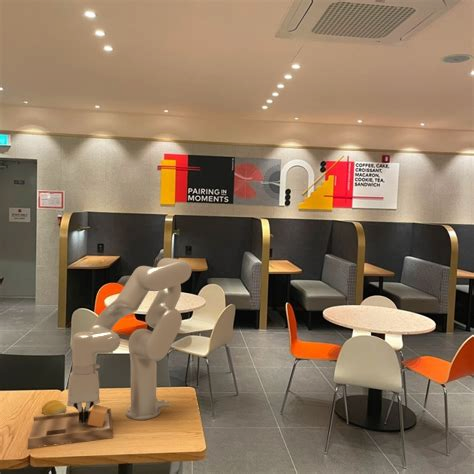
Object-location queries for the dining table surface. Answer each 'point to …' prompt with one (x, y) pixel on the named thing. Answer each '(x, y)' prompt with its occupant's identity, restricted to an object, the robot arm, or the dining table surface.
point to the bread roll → (53, 407)
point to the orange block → (97, 415)
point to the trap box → (67, 429)
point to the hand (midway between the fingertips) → (83, 421)
